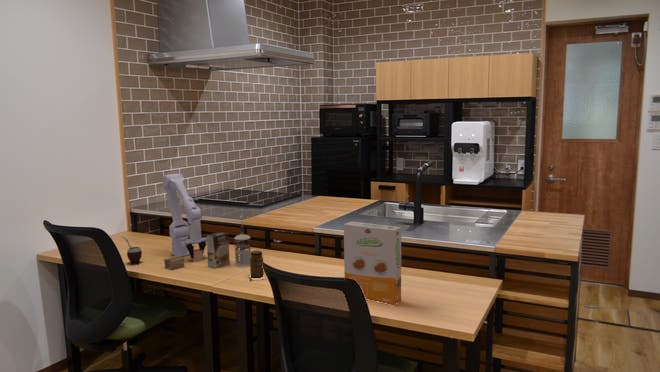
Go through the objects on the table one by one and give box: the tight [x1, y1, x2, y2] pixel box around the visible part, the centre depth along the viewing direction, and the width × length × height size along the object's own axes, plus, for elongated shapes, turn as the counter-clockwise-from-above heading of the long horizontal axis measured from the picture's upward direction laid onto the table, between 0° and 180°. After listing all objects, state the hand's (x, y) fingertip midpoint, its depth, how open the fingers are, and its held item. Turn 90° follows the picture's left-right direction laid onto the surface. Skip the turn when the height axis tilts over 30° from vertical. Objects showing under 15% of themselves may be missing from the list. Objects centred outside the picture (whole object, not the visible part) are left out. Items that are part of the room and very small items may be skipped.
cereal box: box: [343, 221, 402, 306], centre depth 206 cm, size 22×6×30 cm, turn 56°
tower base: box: [164, 263, 185, 271], centre depth 255 cm, size 7×7×2 cm
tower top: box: [163, 255, 186, 266], centre depth 255 cm, size 7×7×2 cm
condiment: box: [248, 250, 265, 281], centre depth 236 cm, size 7×8×12 cm
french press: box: [233, 215, 252, 268], centre depth 258 cm, size 10×12×25 cm
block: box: [190, 248, 204, 262], centre depth 268 cm, size 4×4×5 cm
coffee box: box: [206, 231, 231, 269], centre depth 257 cm, size 9×6×16 cm
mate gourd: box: [121, 235, 143, 266], centre depth 263 cm, size 8×8×15 cm
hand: (196, 257), depth 268 cm, fingers closed on block, 4 cm apart
